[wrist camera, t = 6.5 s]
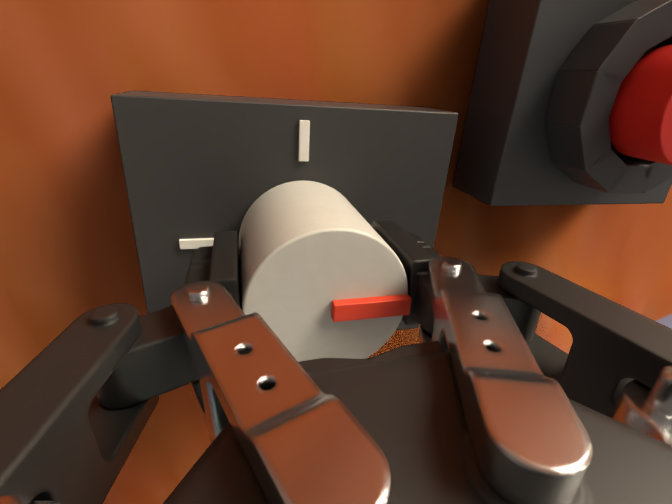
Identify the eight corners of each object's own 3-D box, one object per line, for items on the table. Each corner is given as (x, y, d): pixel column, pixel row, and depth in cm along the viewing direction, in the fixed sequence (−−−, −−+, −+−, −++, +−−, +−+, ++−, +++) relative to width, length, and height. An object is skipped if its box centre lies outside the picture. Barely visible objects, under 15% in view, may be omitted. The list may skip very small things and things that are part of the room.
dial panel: (165, 314, 18) (153, 358, 15) (132, 90, 14) (108, 94, 11) (395, 296, 21) (420, 330, 18) (424, 106, 17) (461, 113, 14)
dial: (241, 295, 15) (245, 392, 11) (235, 179, 13) (237, 236, 9) (353, 287, 17) (401, 371, 12) (363, 179, 15) (425, 229, 10)
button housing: (452, 187, 19) (517, 220, 15) (494, -29, 15) (598, -69, 11) (607, 186, 22) (703, 215, 17) (676, 0, 18) (820, -23, 14)
